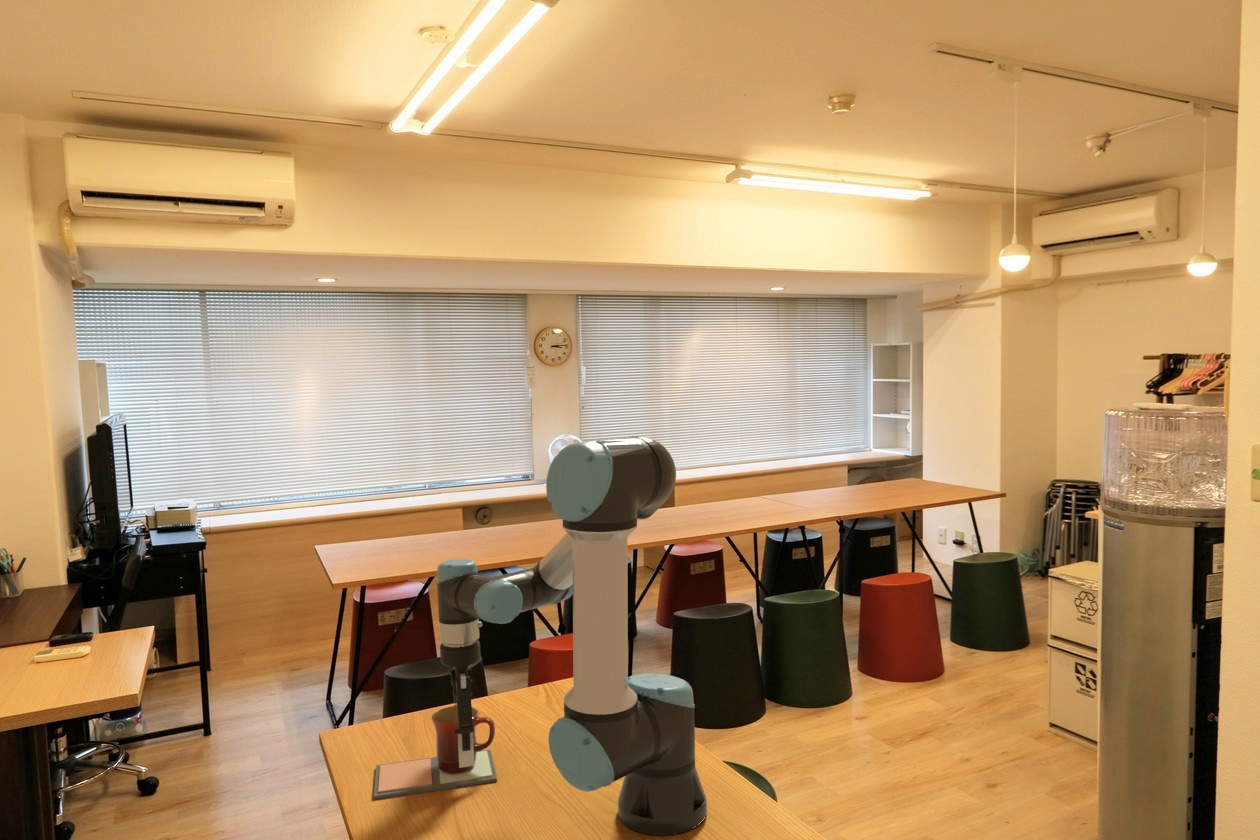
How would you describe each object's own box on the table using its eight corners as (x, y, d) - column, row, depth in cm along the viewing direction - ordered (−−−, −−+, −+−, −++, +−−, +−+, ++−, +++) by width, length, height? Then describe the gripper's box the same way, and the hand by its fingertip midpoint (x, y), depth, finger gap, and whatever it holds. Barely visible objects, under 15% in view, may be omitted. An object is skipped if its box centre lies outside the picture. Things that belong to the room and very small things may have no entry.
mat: (496, 781, 157) (496, 776, 157) (373, 799, 151) (373, 794, 151) (490, 752, 169) (490, 748, 169) (376, 768, 164) (376, 763, 164)
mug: (427, 777, 157) (425, 723, 157) (442, 756, 166) (440, 705, 166) (489, 778, 156) (487, 723, 156) (501, 757, 165) (499, 705, 164)
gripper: (485, 659, 149) (490, 776, 150) (474, 622, 174) (478, 723, 174) (442, 663, 147) (447, 782, 148) (437, 626, 172) (441, 728, 172)
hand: (464, 750), depth 161 cm, fingers open, 13 cm apart
